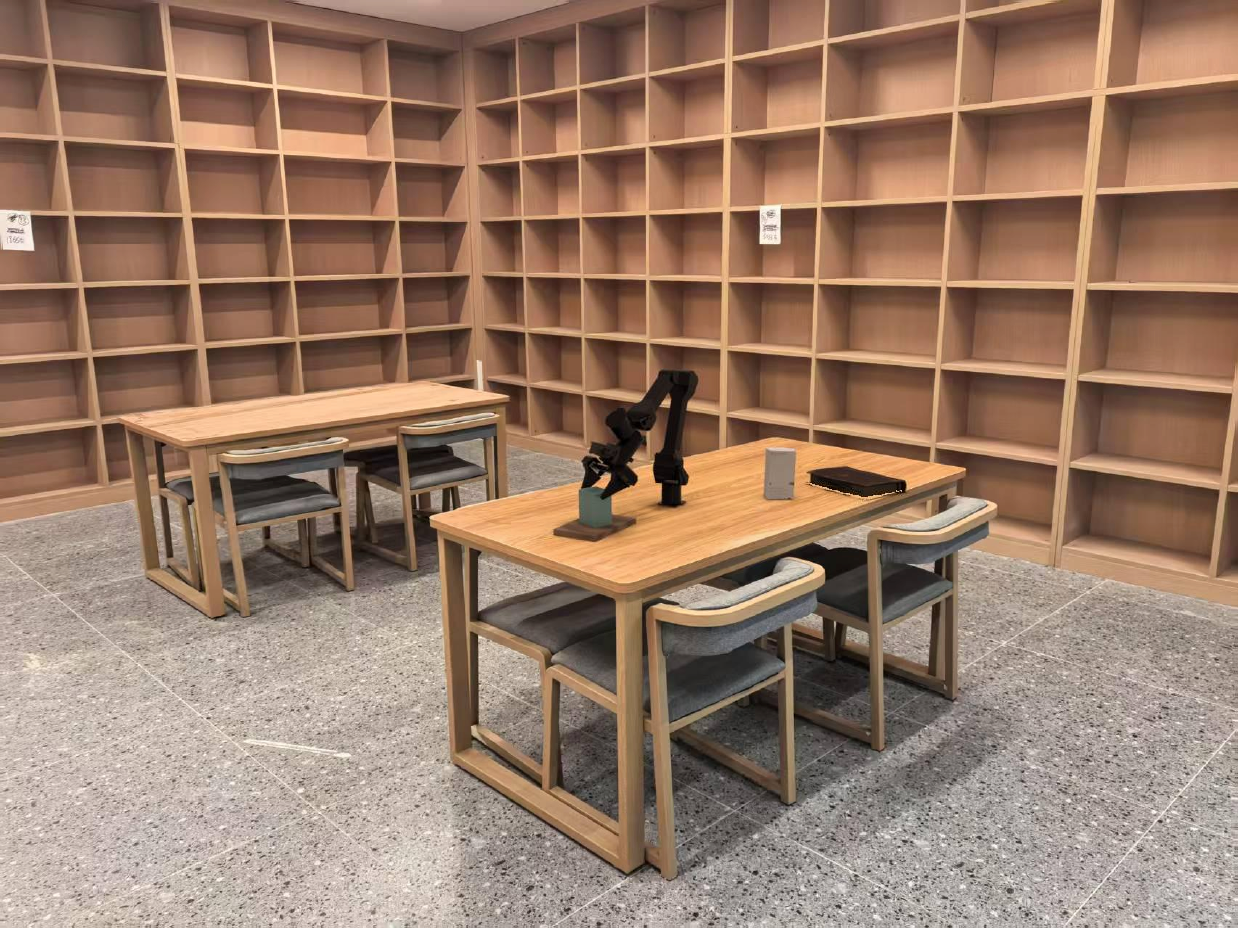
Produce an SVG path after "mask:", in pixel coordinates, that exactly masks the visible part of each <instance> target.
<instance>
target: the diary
mask: <svg viewBox="0 0 1238 928" xmlns="http://www.w3.org/2000/svg"><path fill="white" fill-rule="evenodd" d="M806 474H809V475H810V478H809V483H812V484H815V485H819V486H822V487H827V488H829V489H832V490H838V491H840V492H843V493H850V494H853V495H859V496H861V497H868V496H873V495H882V494H885V493H892V492H896V490H897V491H900V490H902V492H901V493H903V494H904V493H906V491H907V481H906V480H905V479H901V478H895V477H891V476H886V475H883V474H880V473H875V472H871V471H867V470H861V469H858V468H854V467H851V466H847V465H844V466H835V467H825V468H817V469H811V470H808V471H806ZM806 483H808V482H807V481H806V482H805V484H806Z"/></svg>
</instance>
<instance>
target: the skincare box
mask: <svg viewBox="0 0 1238 928" xmlns="http://www.w3.org/2000/svg"><path fill="white" fill-rule="evenodd" d="M796 458H797V450H796V449H795V448H793V447H771V446H770V447H768V446H767V447H765V459H764V480H763V496H764V495H765V496H764V497H765V498H766V500H789V499H788V498H793V499H794V497H795V495H794V492H795V477H796V460H797V459H796Z"/></svg>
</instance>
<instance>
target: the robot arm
mask: <svg viewBox="0 0 1238 928" xmlns="http://www.w3.org/2000/svg"><path fill="white" fill-rule="evenodd" d="M698 384H699V377H698V375H697V374H696V372H695V370H692V369H691V370H690V369H689V370H687V369H666V368H665V369H663V368H662V369H660V370H659V371H658V374H657V377H656V379H655V380H654V382H653V383H652V385H651V386H650V387H649V389H648V390H647V392H646V394H645V395H644V396H643V398H642V399H641V400H640V401H638V402H637V403H634V404H632V406H630V408H629V409H628V410H626V408H625V407H621V406H620V407H619V406H617V408H616V410H613V411H611V412H610V413H609V414H608V415H607V416H606V418H605V420H604V422H605V423H604V424H605V425H606V427H607V428H608V430H609V431H610V432H611V434H612V435H613V436H614V438H615V439H616V442H615V444H614V443H611V442H607V443H606V444H603V443H601V442H600V443H599V442H596V441H592V442H591V444H590V447H589V450H588V454H589V455H585V456H584V457H583V458H582V460H581V461H580V463H581V464H582V467H583V468H584V475H583V479H582V482H581V486H580V489H583V488H589V487H594V486H595V484H597V483H598V482H599V481H600V480H601V479H602V477H601V476H604V475H605V473H606V474H610V480H609V481H608V483H607V484H606V486H605V487H604V488H603V489H604V491H603V493H602V495H601V497H600V498H601V499H602V500H604V499H606V498H608V497H610V496H613V495H615V494H617V493H619V492H621V491H624V490H625V489H627V488H630V487H631V486H632V487H635V485H636V484H637V483H638V482H639V476H638V474H637V473H636V472H635V471H634V470H633V469H632V468H631V467H630V466H629V465H628V463H630V464H633V462H634V460H635V459H634V458H633V456H634V455H635V454H636V452H637V451H638V449H639V448H640V446H643V447H647V443H648V442H647V436H646V435H644V434H642V433H641V432H640V431H642V432H650V431H651V430H652V429H653V428H654V426H655V424H656V422H657V419H658V418H657V412H658V410H659V408H660V406H661V405H662V403H663V402H664V401H665V399H666V397H667V396H668V394H669V397H670V402H669V410H668V414H667V415H668V416H667V420H666V421H667V423H666V428H665V434H664V440H663V445H662V449H660V451H659V452H655V454H654V460H653V465H652V473H653V478H654V483H655V484H661V495H660V496H661V499H660V501H658V502H656V505H658V506H664V507H672V508H677V507H680V506H682V505H684V504H686V503H687V501H686V500H682V487H683V486H684V487H685V486H687V485H688V483H689V480H690V476H689V474H688V472H687V471H686V469H685V468H684V461H685V460H684V458H683V455H682V453H681V447H682V439H683V436H684V435H683V434H684V433H683V432H684V428H685V422H686V421H685V420H686V415H687V410H688V403H689V401H691V399H692V398H693V396H694V395H695V393H696V390H697V386H698ZM590 454H591V455H590ZM593 455H595V456H593ZM596 456H598V458H597V457H596Z"/></svg>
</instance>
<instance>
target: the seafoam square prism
mask: <svg viewBox="0 0 1238 928" xmlns="http://www.w3.org/2000/svg"><path fill="white" fill-rule="evenodd" d="M604 489H605V488H604V487H603V488H602V487H601V486H597V485H596V486H595V485H593V486H592V487H589V488H583V489H581V488H578V519H579V522H580V523H582V524H585V525H588V526H590V527H593V528H597V527H602V526H606V525H611V524H612V513H613V509H612V507H613V506H612V505H613V504H612V503H613V502H612V500H613V499H612V496H613V495H612V496H610V497H608V498H606V499H604V500H602V499H601V498H600V497H601V495H602V493H603V491H604Z"/></svg>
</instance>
